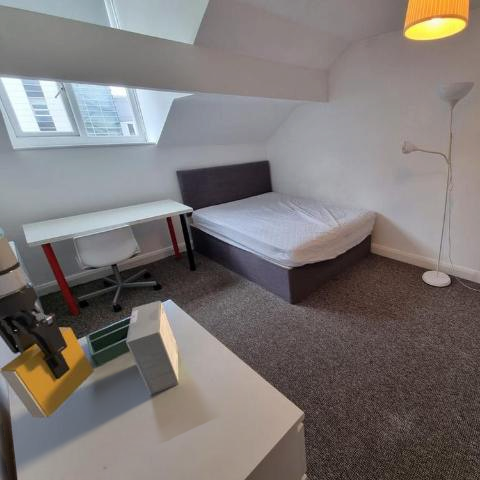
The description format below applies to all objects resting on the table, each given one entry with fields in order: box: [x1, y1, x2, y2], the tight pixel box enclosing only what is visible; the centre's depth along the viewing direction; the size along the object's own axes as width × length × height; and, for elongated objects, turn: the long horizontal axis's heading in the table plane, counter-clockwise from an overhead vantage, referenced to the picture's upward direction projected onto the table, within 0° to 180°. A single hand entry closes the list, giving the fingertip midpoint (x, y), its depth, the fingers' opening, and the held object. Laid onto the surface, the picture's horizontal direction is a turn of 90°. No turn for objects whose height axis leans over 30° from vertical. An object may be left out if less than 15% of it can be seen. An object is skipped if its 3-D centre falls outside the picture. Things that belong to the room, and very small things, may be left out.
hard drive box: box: [126, 300, 180, 396], centre depth 78 cm, size 16×8×20 cm, turn 27°
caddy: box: [85, 316, 131, 368], centre depth 92 cm, size 12×16×5 cm
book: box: [0, 326, 95, 419], centre depth 62 cm, size 4×12×15 cm, turn 175°
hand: (55, 373), depth 63 cm, fingers closed on book, 3 cm apart
